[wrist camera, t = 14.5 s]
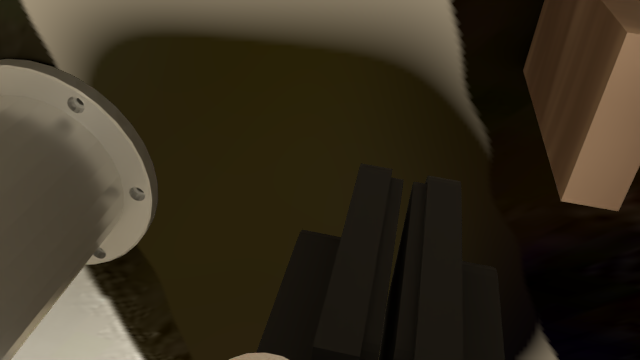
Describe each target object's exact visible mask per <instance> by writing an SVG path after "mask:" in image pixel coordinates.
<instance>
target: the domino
mask: <svg viewBox="0 0 640 360" xmlns="http://www.w3.org/2000/svg"><path fill="white" fill-rule="evenodd" d="M523 72H524V75H525V79H526V82H527V86H528V89H529V92H530V96H531V99H532V103H533V106H534V110H535V113H536V117H537V120H538V124H539V127H540V130H541V134H542V137H543V141H544V144H545V148H546V151H547V155H548V158H549V161H550V165H551V168H552V172H553V175H554V179H555V182H556V186H557V189H558V193H559V196H560V199H561V201H563V202H569V203H575V204H581V205H586V206H592V207H598V208H604V209H609V210H615V211H619V209H620V206H621V204H622V202H623V200H624V198H625V196H626V194H627V191H628V189H629V187H630V185H631V183H632V181H633V179H634V176H635V174H636V172H637V170H638V168H639V166H640V0H544V3H543V7H542V10H541V13H540V16H539V20H538V23H537V26H536V30H535V33H534V36H533V39H532V43H531V46H530V49H529V53H528V56H527V59H526V63H525V66H524V69H523Z"/></svg>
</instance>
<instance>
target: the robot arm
mask: <svg viewBox="0 0 640 360" xmlns="http://www.w3.org/2000/svg"><path fill="white" fill-rule="evenodd" d="M391 174H392V169H389V168H383V167H378V166H372V165H366V164H361V165H360V168H359V172H358V176H357V180H356V183H355V187H354V191H353V195H352V199H351V203H350V206H349V210H348V214H347V218H346V222H345V225H344V229H343V233H342V237H336V236H331V235H326V234H321V233H316V232H311V231H306V230H302V231H301V232H300V234H299V237H298V239H297V242H296V245H295V247H294V250H293V253H292V256H291V258H290V261H289V264H288V267H287V269H286V272H285V275H284V278H283V281H282V283H281V286H280V289H279V292H278V294H277V297H276V300H275V303H274V306H273V309H272V311H271V314H270V317H269V319H268V322H267V325H266V328H265V330H264V333H263V336H262V339H261V341H260V344H259V347H258V350H257V352H256V353H247V354H244V355H241V356H238V357H234V358H231V359H229V360H378V357H379V360H505V357H504V345H503V334H502V323H501V322H502V321H501V310H500V298H499V286H498V277H497V271H496V269H495V268H494V267H490V266H484V265H479V264H474V263H469V262H464V261H462V223H461V222H462V219H461V182H460V181H455V180H449V179H444V178H438V177H432V176H428V177H427V179H426V183H425V184H423V183H418V182H414V183H413V186H412V190H411V195H410V199H409V204H408V208H407V213H406V218H405V222H404V227H403V232H402V236H401V241H400V245H399V250H398V255H397V259H396V264H395V268H394V273H393V277H392V282H391V286H390V291H389V296H388V301H387V295H388V287H389V280H390V274H391V266H392V259H393V252H394V245H395V238H396V231H397V224H398V216H399V209H400V202H401V195H402V188H403V180H401V179H396V178H391ZM157 203H158V182H157V178H156V174H155V170H154V165H153V162H152V160H151V158H150V155H149V153H148V151H147V148H146V146H145V144H144V142H143V141H142V139H141V138H140V136H139V135H138V133H137V132H136V130H135V129H134V127H133V126H132V124H131V123H130V122H129V121H128V120H127V119H126V117H125V116H124V115H123V114H122V113H121V112H120V111H119V110H118V108H117V107H116V106H115V105H113V104H112V103H111V102H110V101H109V100H108V99H106V98H105V97H104V96H103V95H102V94H100V93H99V92H98V91H97V90H96V89H94V88H92V87H91V86H89V85H88V84H86V83H84V82H83V81H81V80H80V79H78V78H76V77H75V76H72V75H71V74H68V73H66V72H64V71H61V70H59V69H57V68H55V67H52V66H49V65H45V64H41V63H37V62H33V61H29V60H16V59H2V60H0V360H11V359H12V358H13V356H14V355H15V354H16V352H17V351H18V350H19V349H20V347H21V346H22V345H23V343H24V342H25V341H26V340H27V338H28V337H29V336H30V335H31V333H32V332H33V331H34V329H35V328H36V327H37V326H38V324H39V323H40V322H41V320H42V319H43V318H44V317H45V315H46V314H47V313H48V312H49V310H50V309H51V308H52V306H53V305H54V304H55V303H56V301H57V300H58V299H59V297H60V296H61V295H62V294H63V292H64V291H65V290H66V288H67V287H68V286H69V285H70V283H71V282H72V281H73V280H74V278H75V277H76V276H77V274H78V273H79V272H80V271H81V269H82V268H83V267H84V265H90V264H99V263H103V262H108V261H112V260H114V259H116V258H118V257H120V256H122V255H124V254H126V253H127V252H128V251H130V250H131V249H132V248H133V247H134V246H136V245H137V244H138V242H139V241H140V240H141V238H142V237H143V236H144V234H145V233H146V232H147V230H148V228H149V226H150V224H151V222H152V221H153V219H154V217H155V212H156V207H157ZM386 302H387V306H386ZM385 309H386V312H385ZM384 317H385V319H384ZM383 324H384V326H383ZM382 331H383V333H382ZM381 338H382V340H381ZM380 345H381V347H380ZM379 351H380V355H379Z"/></svg>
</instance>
